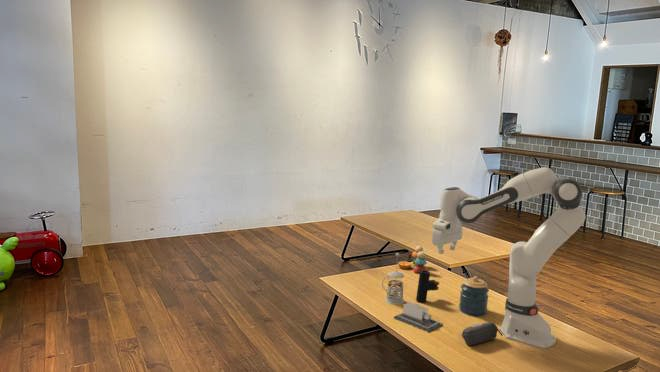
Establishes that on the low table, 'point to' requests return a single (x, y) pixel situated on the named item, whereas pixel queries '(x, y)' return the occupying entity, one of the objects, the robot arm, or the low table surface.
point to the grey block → (416, 313)
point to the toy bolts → (418, 262)
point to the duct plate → (425, 326)
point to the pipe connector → (425, 285)
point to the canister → (474, 297)
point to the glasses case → (480, 333)
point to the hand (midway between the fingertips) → (446, 251)
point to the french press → (393, 297)
